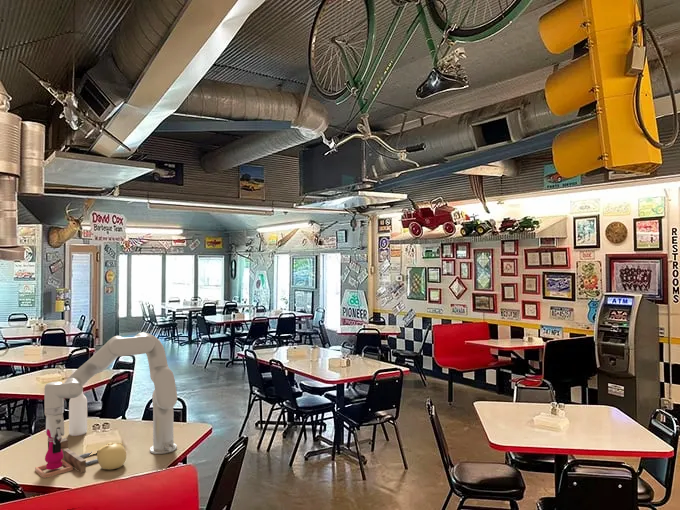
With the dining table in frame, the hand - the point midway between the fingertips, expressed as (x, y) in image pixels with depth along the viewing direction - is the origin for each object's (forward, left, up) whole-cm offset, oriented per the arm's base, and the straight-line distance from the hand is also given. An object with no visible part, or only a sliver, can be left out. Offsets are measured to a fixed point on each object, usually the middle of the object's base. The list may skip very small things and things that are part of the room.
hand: (54, 450), depth 224 cm
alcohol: (+43, -26, -9) cm, 51 cm away
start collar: (0, -16, -9) cm, 18 cm away
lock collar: (0, 0, -9) cm, 9 cm away
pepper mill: (0, 0, -8) cm, 8 cm away
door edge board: (+2, -8, -9) cm, 12 cm away
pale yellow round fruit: (-16, -19, -9) cm, 26 cm away
